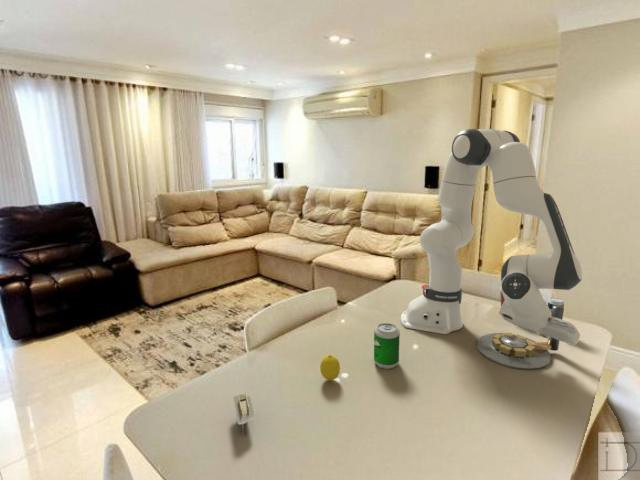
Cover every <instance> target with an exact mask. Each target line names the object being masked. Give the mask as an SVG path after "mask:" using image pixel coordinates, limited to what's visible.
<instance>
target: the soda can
mask: <svg viewBox="0 0 640 480" xmlns="http://www.w3.org/2000/svg"><path fill="white" fill-rule="evenodd" d="M400 332H401V331H400V329H399V328H398V327H397V325H395V324H392V323H389V322H384V323H380V324H378V325H377V326H376V327H375V328H374V331H373V361H374V363H375V364H376V365H377V366H378V367H379V368H382V369H385V370H389V369H393V368H395V367H396V366H398V364H399V361H400V339H401V338H400V337H401V336H400V334H401V333H400Z"/></svg>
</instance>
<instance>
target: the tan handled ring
mask: <svg viewBox="0 0 640 480" xmlns="http://www.w3.org/2000/svg"><path fill="white" fill-rule="evenodd" d="M564 309H565V307H563V306H560V305H553V306H552V314H551V316H552V317H555V318H558V319H561V320H564V318H563V317H564ZM500 333H501V335H500V334H496V335H494V336H493V339H492V345H493V346H494V348H495V349H499V351H500V352H502V353H505V354H507V355H510V354H511V353H512V348H511V347H509V346H506V345H503V344H502V343H501V337H503V336H513V335H515V337H518V338H521V339H523V340H524V341H525V342H526V348H525V349H524V348H513V355H514V356H517V357H526V355H529V356H531V355H532V354H533V353H534V352H535V349H540V350H548V351H554V352H555V351H558V350H559V346H560V340H557V339H554V338H552V337H550V338H549V339H547V341H545V342H544V341H535V342H532V341H531V340H532V339H531V340H527V338H528V337H525V336H523V335H520V334H517V333H516V334H513V333H512V332H500Z"/></svg>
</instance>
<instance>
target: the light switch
mask: <svg viewBox="0 0 640 480" xmlns="http://www.w3.org/2000/svg"><path fill="white" fill-rule="evenodd" d="M233 402H234V407H235V413H236V420H237V424H238V426H239V425H241V429H242V430H241V431H242V435H243V436H242V437H244V436H245V433H244V432H245V427H244V424H246V423H248V422H249V421H250V420H251V419H252V418H253V417H254V416H255V411H254V407H253V402H252V398H251V396H250V395H247V393H246V392H244V393H239V394H238V395H234V396H233ZM241 402H245V406H246V413H243V408H242V403H241Z"/></svg>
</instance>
